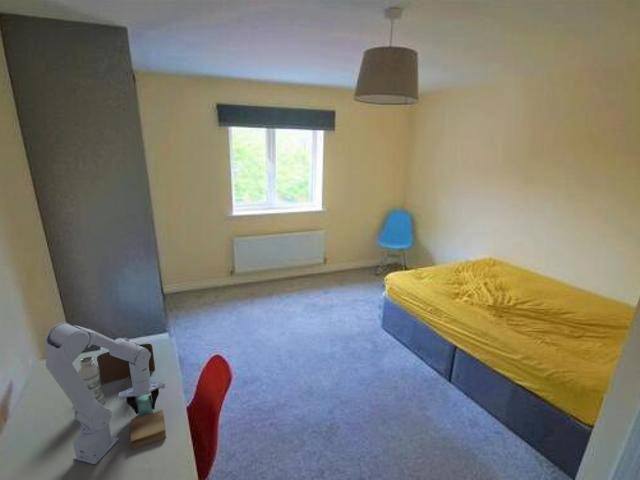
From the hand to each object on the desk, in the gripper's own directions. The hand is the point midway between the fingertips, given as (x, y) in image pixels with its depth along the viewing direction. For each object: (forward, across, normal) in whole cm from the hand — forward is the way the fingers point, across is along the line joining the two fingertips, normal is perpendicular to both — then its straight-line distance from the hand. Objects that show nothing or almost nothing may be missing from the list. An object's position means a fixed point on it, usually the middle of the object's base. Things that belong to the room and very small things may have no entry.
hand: (145, 409), depth 122 cm
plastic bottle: (+2, +16, -12) cm, 20 cm away
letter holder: (+2, +6, -30) cm, 30 cm away
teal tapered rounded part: (+1, 0, 0) cm, 1 cm away
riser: (+1, -1, +10) cm, 10 cm away
